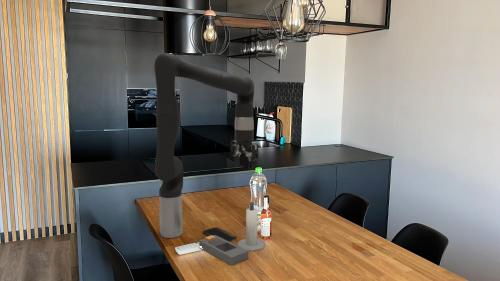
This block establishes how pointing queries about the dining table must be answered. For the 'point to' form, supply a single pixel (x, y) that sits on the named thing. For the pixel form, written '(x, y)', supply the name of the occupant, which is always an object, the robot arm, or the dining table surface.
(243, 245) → the pad
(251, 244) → the white and grey cylinder
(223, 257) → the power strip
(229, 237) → the phone
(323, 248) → the dining table surface
